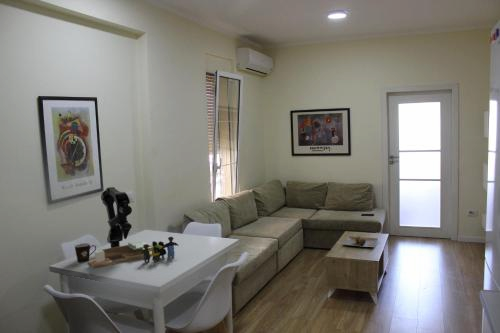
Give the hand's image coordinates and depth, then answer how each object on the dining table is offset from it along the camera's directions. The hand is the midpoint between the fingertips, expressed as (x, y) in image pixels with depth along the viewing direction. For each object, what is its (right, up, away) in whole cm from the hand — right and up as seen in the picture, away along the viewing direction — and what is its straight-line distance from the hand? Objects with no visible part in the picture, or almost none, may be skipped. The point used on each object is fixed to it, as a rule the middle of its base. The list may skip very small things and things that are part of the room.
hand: (123, 237), depth 259 cm
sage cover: (+11, -5, -2) cm, 12 cm away
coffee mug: (-20, -13, -7) cm, 25 cm away
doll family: (+26, -12, -10) cm, 30 cm away
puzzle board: (+1, -12, -8) cm, 15 cm away
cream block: (-9, -11, -15) cm, 21 cm away
